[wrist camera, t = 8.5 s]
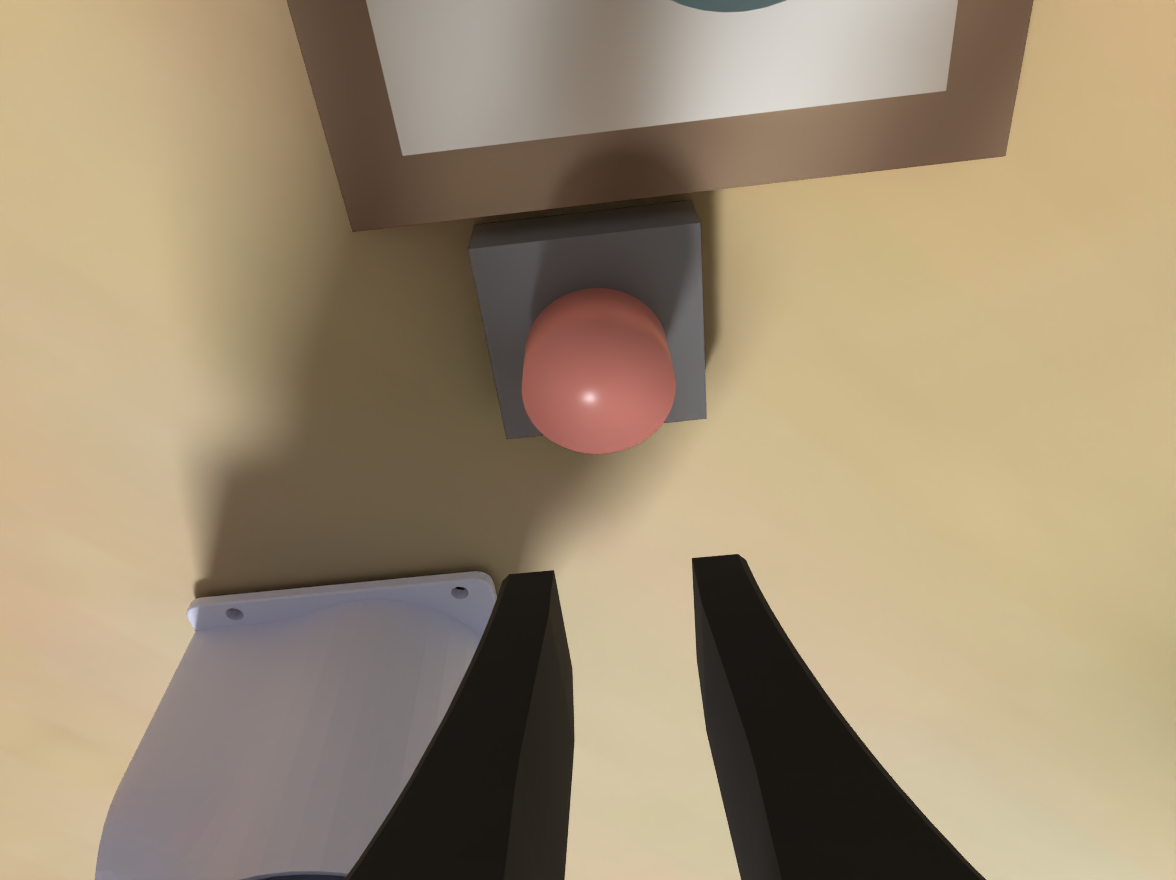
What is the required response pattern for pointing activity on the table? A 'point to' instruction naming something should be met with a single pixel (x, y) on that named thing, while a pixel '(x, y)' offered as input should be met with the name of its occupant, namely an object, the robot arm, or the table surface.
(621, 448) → the button
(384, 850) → the robot arm
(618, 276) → the button base
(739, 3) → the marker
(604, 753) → the table surface
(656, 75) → the sketch board
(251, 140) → the table surface
